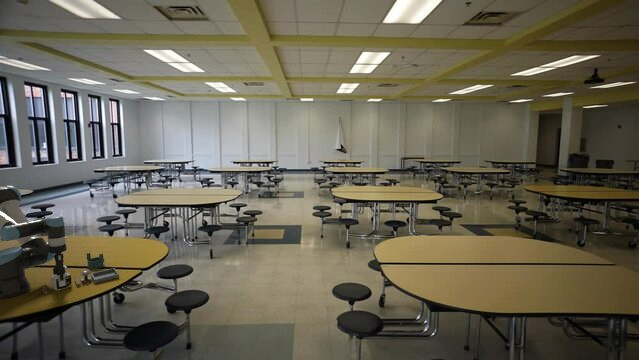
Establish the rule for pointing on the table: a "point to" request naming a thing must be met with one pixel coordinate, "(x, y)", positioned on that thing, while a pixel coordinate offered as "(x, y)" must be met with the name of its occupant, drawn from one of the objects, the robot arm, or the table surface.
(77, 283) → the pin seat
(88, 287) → the table surface
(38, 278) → the table surface
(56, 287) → the medicine bottle
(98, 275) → the tray
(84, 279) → the knob
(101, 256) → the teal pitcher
